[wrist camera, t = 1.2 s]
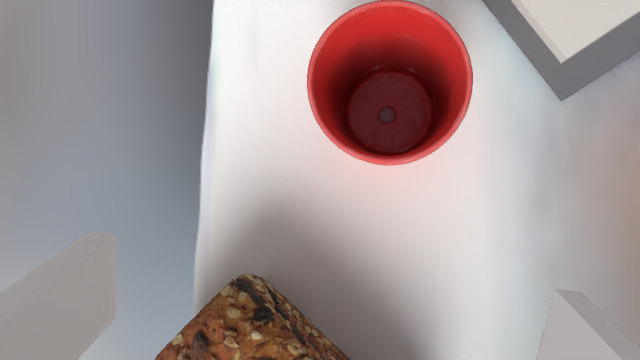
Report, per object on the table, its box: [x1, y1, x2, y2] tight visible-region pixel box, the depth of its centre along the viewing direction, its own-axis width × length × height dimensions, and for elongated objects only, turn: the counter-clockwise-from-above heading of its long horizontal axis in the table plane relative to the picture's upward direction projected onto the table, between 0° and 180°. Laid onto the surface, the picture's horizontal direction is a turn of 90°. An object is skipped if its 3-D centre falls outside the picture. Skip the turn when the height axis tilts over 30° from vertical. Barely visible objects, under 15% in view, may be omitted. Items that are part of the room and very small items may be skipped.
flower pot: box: [307, 0, 473, 165], centre depth 34 cm, size 11×11×10 cm
